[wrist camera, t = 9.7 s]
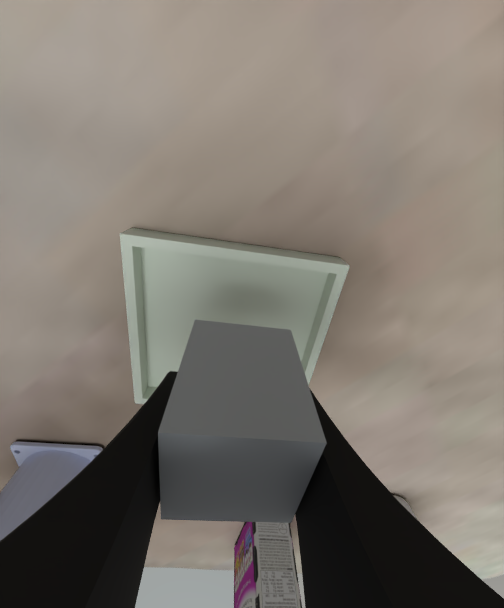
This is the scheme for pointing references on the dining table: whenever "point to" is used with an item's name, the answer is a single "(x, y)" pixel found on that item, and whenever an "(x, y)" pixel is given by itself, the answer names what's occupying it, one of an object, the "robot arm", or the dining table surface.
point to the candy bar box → (265, 567)
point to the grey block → (238, 427)
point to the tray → (219, 296)
